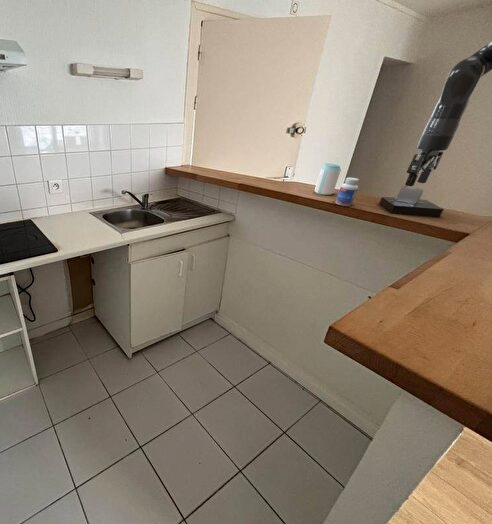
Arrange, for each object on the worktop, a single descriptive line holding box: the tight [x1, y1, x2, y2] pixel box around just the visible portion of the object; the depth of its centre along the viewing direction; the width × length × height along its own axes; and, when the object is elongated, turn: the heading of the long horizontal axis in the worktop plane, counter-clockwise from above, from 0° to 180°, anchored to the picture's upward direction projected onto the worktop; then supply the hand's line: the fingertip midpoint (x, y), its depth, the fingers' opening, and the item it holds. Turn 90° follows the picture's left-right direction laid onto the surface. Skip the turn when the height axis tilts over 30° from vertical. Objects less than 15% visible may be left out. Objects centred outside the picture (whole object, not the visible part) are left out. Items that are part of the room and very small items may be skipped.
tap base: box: [378, 196, 445, 219], centre depth 102 cm, size 14×11×3 cm
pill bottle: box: [334, 177, 360, 207], centre depth 107 cm, size 6×5×10 cm
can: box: [314, 163, 342, 196], centre depth 119 cm, size 7×7×12 cm
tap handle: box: [395, 185, 425, 205], centre depth 100 cm, size 6×2×5 cm, turn 28°
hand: (415, 184), depth 98 cm, fingers open, 8 cm apart
